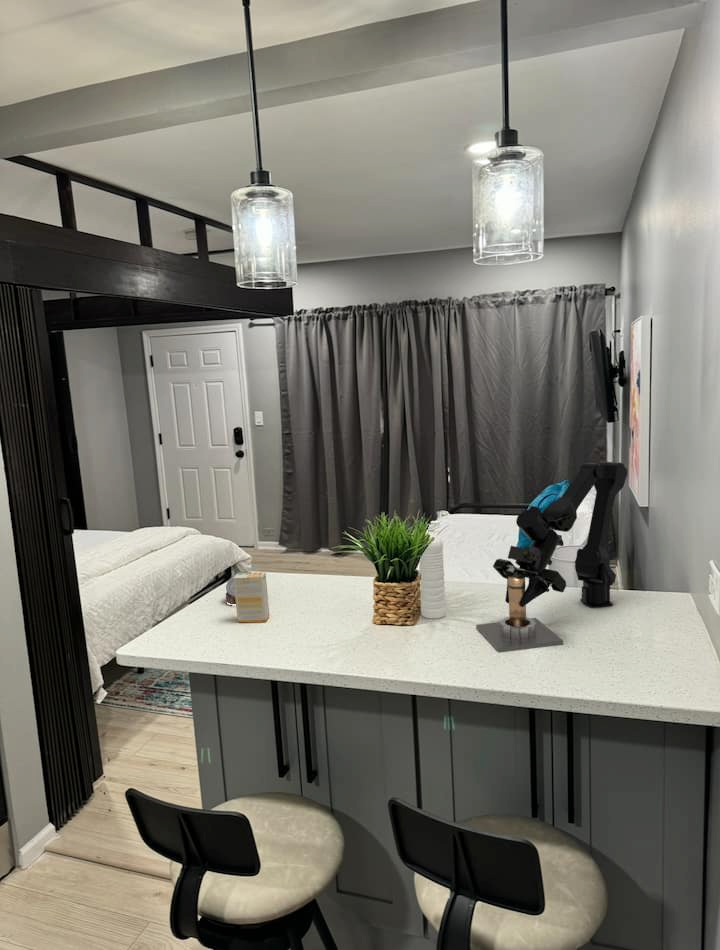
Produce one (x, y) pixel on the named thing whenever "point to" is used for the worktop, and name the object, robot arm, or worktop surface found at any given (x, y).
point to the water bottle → (433, 577)
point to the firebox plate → (518, 643)
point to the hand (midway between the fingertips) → (513, 604)
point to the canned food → (232, 589)
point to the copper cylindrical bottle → (516, 601)
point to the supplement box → (251, 597)
